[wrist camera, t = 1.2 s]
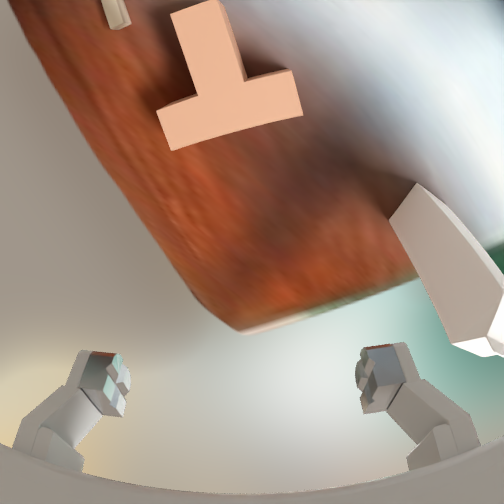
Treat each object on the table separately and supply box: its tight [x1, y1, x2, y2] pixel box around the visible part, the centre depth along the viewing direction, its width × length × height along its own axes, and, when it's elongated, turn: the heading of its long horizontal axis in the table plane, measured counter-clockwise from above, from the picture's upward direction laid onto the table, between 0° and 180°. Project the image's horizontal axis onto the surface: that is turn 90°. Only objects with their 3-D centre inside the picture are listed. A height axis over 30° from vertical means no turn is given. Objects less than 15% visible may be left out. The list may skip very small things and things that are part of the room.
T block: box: [156, 0, 303, 151], centre depth 25 cm, size 12×12×5 cm
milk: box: [389, 183, 504, 357], centre depth 26 cm, size 6×6×22 cm
